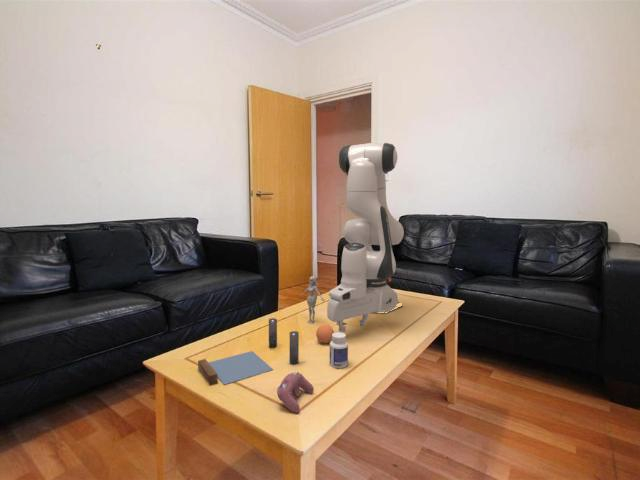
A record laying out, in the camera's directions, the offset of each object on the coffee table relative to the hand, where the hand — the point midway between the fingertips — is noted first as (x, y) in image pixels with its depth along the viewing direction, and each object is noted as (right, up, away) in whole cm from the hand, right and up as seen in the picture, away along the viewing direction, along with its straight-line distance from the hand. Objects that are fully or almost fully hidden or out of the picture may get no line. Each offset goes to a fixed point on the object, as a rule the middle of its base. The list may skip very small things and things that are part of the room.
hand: (352, 328), depth 121 cm
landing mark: (-34, -5, -24) cm, 42 cm away
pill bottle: (-6, -5, -22) cm, 23 cm away
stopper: (-42, -5, -29) cm, 51 cm away
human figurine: (-15, -1, +12) cm, 19 cm away
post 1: (-27, -3, -11) cm, 29 cm away
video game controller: (-17, -7, -40) cm, 44 cm away
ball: (-10, 0, -7) cm, 12 cm away
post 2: (-19, -5, -21) cm, 29 cm away
